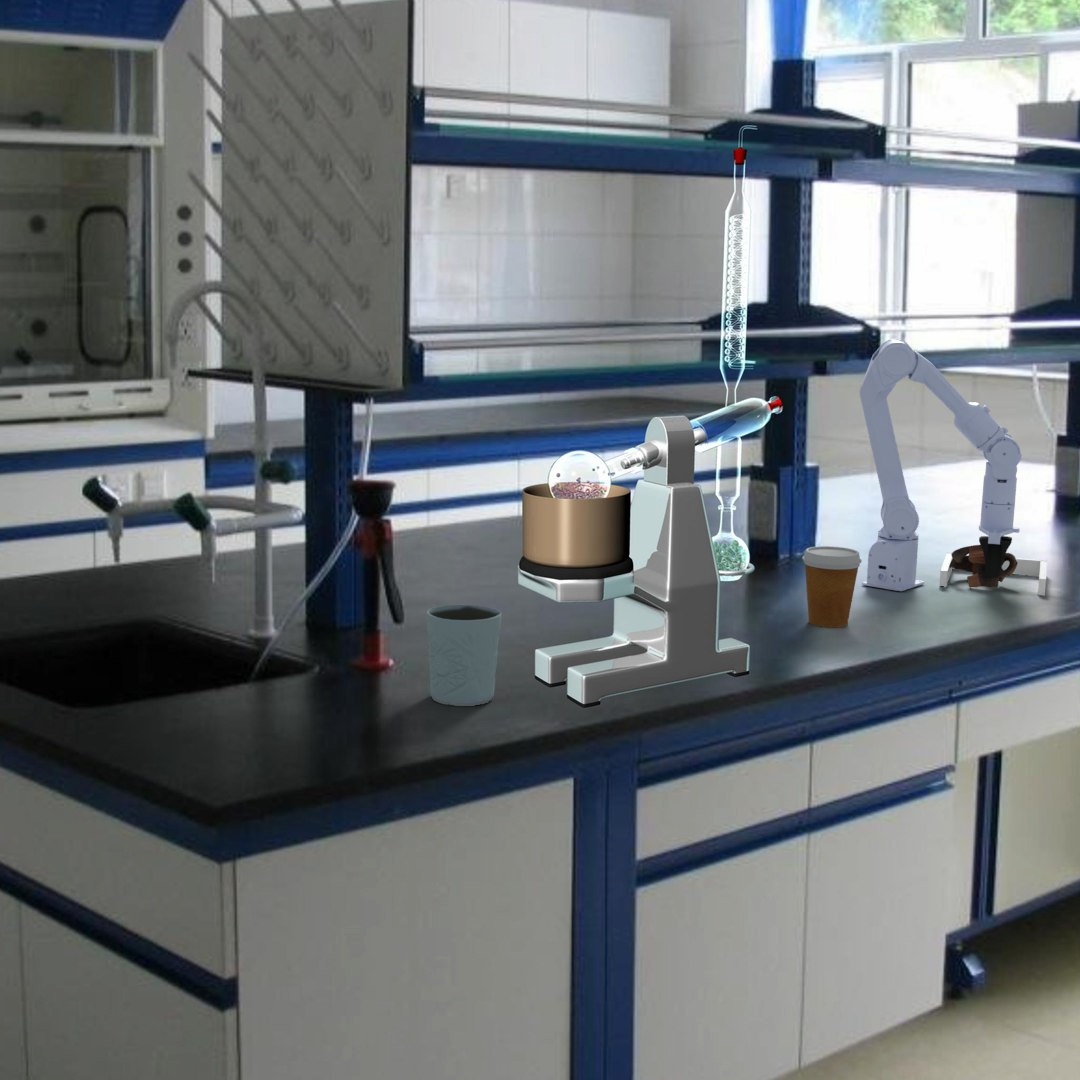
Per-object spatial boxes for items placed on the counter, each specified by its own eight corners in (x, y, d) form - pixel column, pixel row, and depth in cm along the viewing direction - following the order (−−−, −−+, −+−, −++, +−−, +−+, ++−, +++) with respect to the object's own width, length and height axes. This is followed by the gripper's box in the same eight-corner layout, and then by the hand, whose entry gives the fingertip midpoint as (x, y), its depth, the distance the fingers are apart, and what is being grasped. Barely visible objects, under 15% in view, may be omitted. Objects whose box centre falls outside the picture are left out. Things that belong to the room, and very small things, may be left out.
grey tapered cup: (426, 708, 236) (428, 620, 234) (423, 687, 246) (424, 603, 244) (502, 708, 237) (505, 620, 235) (496, 687, 247) (498, 603, 245)
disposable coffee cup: (813, 631, 285) (818, 557, 283) (789, 617, 294) (793, 546, 292) (867, 628, 288) (872, 556, 286) (841, 615, 297) (846, 545, 295)
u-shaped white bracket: (1044, 595, 317) (1046, 579, 317) (939, 586, 322) (940, 570, 322) (1045, 575, 334) (1047, 560, 334) (946, 567, 339) (947, 552, 339)
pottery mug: (953, 590, 321) (945, 547, 324) (957, 603, 330) (949, 561, 333) (1020, 578, 318) (1012, 535, 321) (1023, 592, 327) (1014, 549, 330)
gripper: (1020, 510, 310) (1014, 586, 312) (1022, 497, 323) (1017, 571, 326) (978, 507, 312) (973, 583, 314) (982, 495, 325) (977, 567, 328)
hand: (992, 576), depth 320 cm, fingers closed
